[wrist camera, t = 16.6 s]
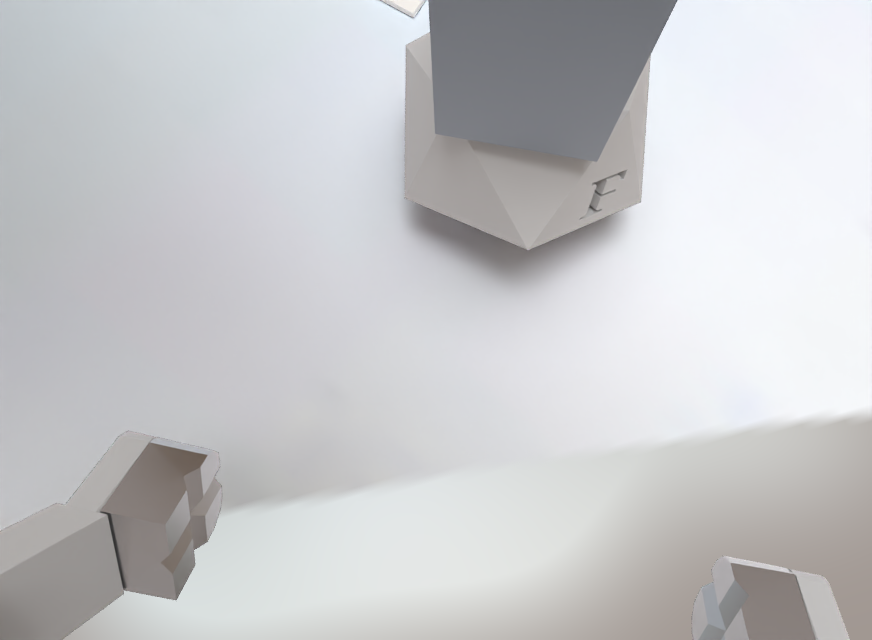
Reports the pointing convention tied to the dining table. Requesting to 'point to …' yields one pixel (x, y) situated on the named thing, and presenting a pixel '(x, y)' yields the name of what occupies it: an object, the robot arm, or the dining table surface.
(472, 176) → the die
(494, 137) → the brick
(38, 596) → the robot arm
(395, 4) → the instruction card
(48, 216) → the dining table surface
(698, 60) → the dining table surface
